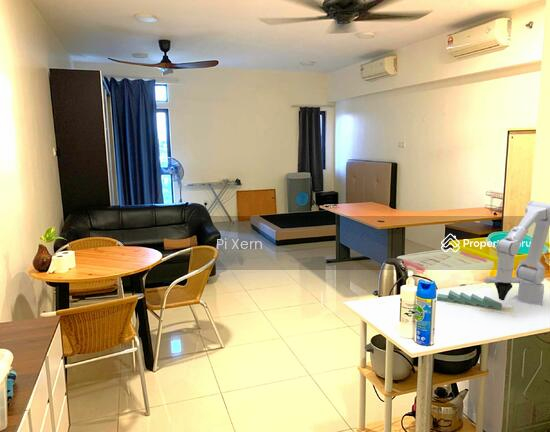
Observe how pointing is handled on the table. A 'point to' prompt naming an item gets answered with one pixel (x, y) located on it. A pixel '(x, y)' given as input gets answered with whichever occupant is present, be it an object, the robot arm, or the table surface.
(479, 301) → the tile
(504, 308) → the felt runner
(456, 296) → the muted teal oblong block
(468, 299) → the teal rectangular block
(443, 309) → the table surface
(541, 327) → the table surface
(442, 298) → the tile
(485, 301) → the teal green rectangular block
